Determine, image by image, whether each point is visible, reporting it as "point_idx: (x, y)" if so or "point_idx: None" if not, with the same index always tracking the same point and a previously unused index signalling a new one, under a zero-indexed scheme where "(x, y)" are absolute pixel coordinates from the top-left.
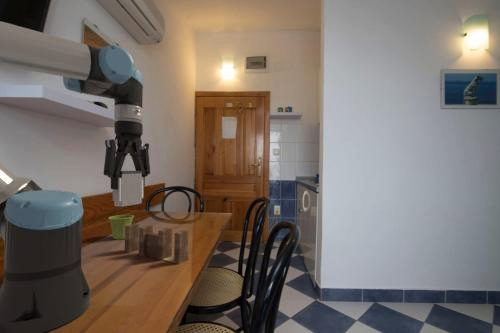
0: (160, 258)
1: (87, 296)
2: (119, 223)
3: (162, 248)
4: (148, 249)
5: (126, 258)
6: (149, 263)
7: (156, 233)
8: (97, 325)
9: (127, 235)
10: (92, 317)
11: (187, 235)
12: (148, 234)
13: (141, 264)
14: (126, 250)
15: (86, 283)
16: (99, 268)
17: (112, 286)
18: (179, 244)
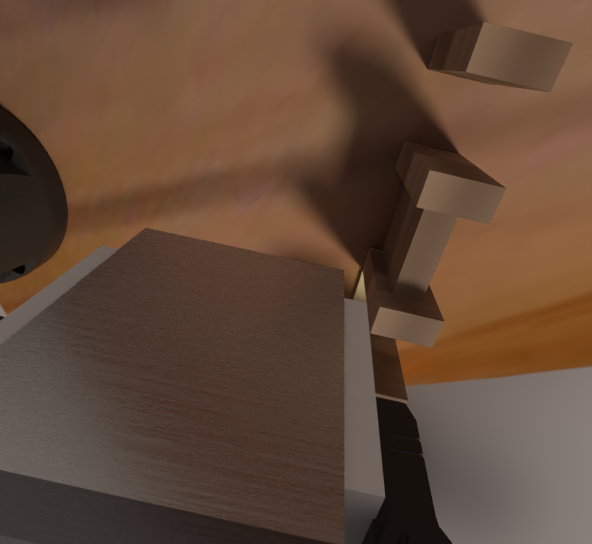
0: (366, 261)
1: (19, 277)
2: None
3: (365, 289)
4: (407, 196)
5: (355, 113)
6: (323, 240)
7: (442, 249)
8: None
9: (455, 54)
10: (28, 295)
11: None
12: (420, 218)
13: (307, 218)
14: (435, 50)
15: (14, 267)
16: (228, 85)
17: None
18: None
